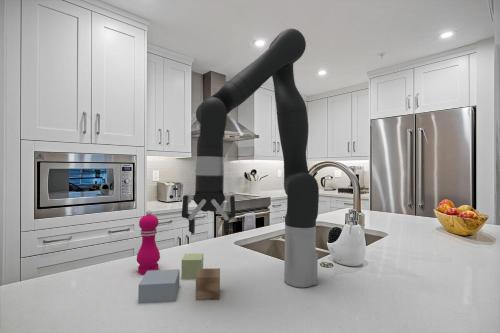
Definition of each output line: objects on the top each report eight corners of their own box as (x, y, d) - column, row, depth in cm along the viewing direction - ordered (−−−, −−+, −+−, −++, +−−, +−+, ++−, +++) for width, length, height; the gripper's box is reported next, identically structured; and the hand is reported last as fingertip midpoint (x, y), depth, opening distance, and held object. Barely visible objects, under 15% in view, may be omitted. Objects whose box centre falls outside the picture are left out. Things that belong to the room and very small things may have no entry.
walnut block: (219, 289, 75) (220, 268, 75) (218, 300, 69) (219, 277, 69) (198, 289, 75) (198, 268, 75) (195, 300, 69) (195, 277, 69)
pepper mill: (134, 276, 83) (135, 212, 83) (138, 267, 90) (138, 208, 90) (159, 274, 85) (159, 211, 85) (160, 265, 92) (161, 208, 92)
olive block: (203, 271, 88) (203, 253, 88) (201, 279, 82) (201, 259, 82) (184, 271, 88) (185, 253, 88) (181, 279, 82) (181, 260, 82)
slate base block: (179, 286, 77) (179, 269, 77) (175, 302, 68) (175, 283, 68) (147, 288, 76) (147, 270, 76) (138, 304, 67) (138, 284, 67)
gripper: (235, 173, 76) (234, 230, 76) (185, 172, 75) (184, 230, 75) (236, 174, 69) (235, 237, 69) (180, 173, 68) (179, 237, 68)
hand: (208, 233), depth 72 cm, fingers open, 8 cm apart
